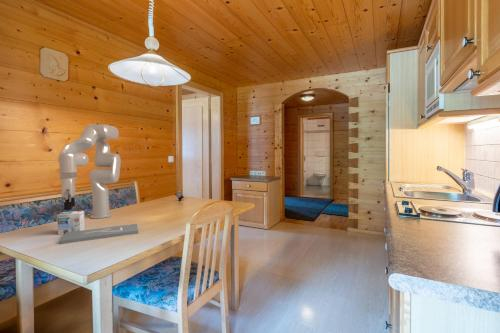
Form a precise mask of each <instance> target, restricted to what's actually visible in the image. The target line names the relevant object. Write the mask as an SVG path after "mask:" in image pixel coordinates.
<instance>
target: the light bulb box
mask: <svg viewBox="0 0 500 333" xmlns="http://www.w3.org/2000/svg"><path fill="white" fill-rule="evenodd" d="M85 226H86V225H85V210H77V211H76V210H75V211H74V210H73V211H62V212H60V213H59V214H57V231H58V233H57V235H58V236H60V235H61V236H62V235H64V234H65V233H66V232H74V231H82V230H86V229H85V228H86V227H85Z"/></svg>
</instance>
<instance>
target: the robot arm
mask: <svg viewBox="0 0 500 333" xmlns="http://www.w3.org/2000/svg"><path fill="white" fill-rule="evenodd" d="M119 135H120V132H119V129H118V128H117V127H116V126H113V125H108V124H104V123H103V124H101V123H100V124H93V123H92V124H88V125H87V126H86V127H84V129H83V131H82V133H81V135H80V136H79V137H78V139H76V140H73V141H71V142H70V143H68V144H67V145H65V146H64V147H63V148H62V149H61V151H60V153H59V154H58V157H57V162H58V164H59V166H58V167H59V168H58V169H59V180H61V192H60V193H61V198H62V199H64V200H63V210H64V211H68V210H69V211H70V210H71V211H72V210H73V207H75V206H76V202H75V200H76V199H75V196H76V180H77V179H78V167H83V166H86V165H87V164H88V163H89V161H90V160H89V156H88V155H87V153H85V152H84V151H87V150H90V149H92V148H93V147H94V146H95V153H94V159H93V160H94V161H93V163H94V166H95V167H96V168H95V169H94V168H93V169H91V171H89V174H88V176H89V181H90V186H91V200H92V214H91V215H90V216H89V217H90V218H91V219H95V220H97V219H106V218H108V217H112V216H113V213H112V212H110V200H109V199H110V197H109V195H110V194H109V188H108V186H107V185H106V184H115V183H117V182H119V179H120V176H121V174H120V173H121V166H122V163H121V162H122V161H121V160H122V158H121V156H120V155H119V154H118V153H113V152H111V147H110V144H109V143H108V142H107V140H117V139H118V138H119Z"/></svg>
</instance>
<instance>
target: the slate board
mask: <svg viewBox="0 0 500 333" xmlns="http://www.w3.org/2000/svg"><path fill="white" fill-rule="evenodd" d="M134 234H135V235H137V234H139V228H138V223H133V224H132V223H131V224H125V225H116V226H115V225H114V226H108V227H99V228H91V229H85V230H82V231H74V232H66V233H65V234H63V236H62V237H61V238H60V241H59V244H60V245H64V244H70V243H77V242H85V241H90V240H98V239H99V240H100V239H107V238H108V239H109V238H115V237H120V236H122V237H123V236H128V235H129V236H130V235H134Z"/></svg>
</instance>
